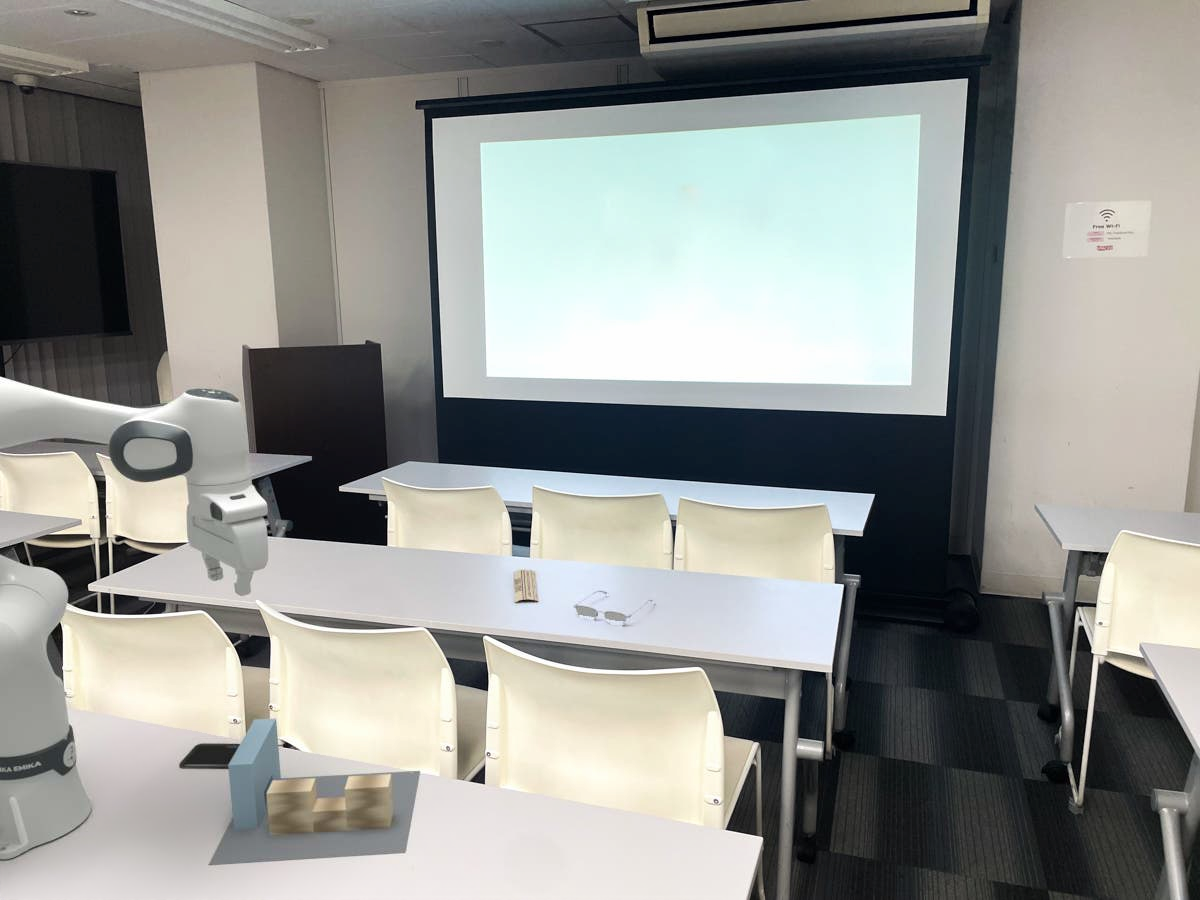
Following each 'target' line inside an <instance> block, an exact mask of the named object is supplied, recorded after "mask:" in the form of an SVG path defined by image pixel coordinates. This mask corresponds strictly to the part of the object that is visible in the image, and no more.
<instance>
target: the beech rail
mask: <svg viewBox="0 0 1200 900" xmlns="http://www.w3.org/2000/svg"><path fill="white" fill-rule="evenodd" d="M266 795H267V807H268V819H269V831H270V835H281V834H298V833H315V832H331V831H348V830H365V829H381V828H390V827H391V823H392V818H393V799H392V780H391V774H384V775H366V776H349V777H348V780H347V783H346V786H345V797H337V798H319V799H317V790H316V778H310V779H292V780H273V781H272V783H271V785H270V787H269V789H268V791H267V793H266Z"/></svg>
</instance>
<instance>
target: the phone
mask: <svg viewBox="0 0 1200 900" xmlns="http://www.w3.org/2000/svg"><path fill="white" fill-rule="evenodd" d="M240 744H241V743H219V742H218V743H217V742H216V743H213V742H212V743H210V742H208V743H207V742H206V743H204V742H203V743H197V744H196V745H195V746H193V748H192V749H191V750H189V752H188V753H187V755H186V756H185V757H184V758H183V759H182V760H181V761H179V764H178V765H179V768H180V769H181V770H182V769H183V770H184V769H185V770H188V769H189V770H190V769H191V770H229V768H228V765H229V763H230V761H231V759H232V758H233V756H234V754H235V752H236V751H237V749H238V747H239V745H240Z"/></svg>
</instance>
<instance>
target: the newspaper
mask: <svg viewBox="0 0 1200 900" xmlns="http://www.w3.org/2000/svg"><path fill="white" fill-rule="evenodd" d="M513 583H514V584H513V586H514V587H513V588H514V603H515V604H518V603H517V602H519V601H524V600H525V601H526V600H527V601H528V600H531V601H535V602H536V601H537V602H539V600H538V597H539V596H538V589H537V582H536V571H535V570H531V569H517V570H516V571H514V572H513Z"/></svg>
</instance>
